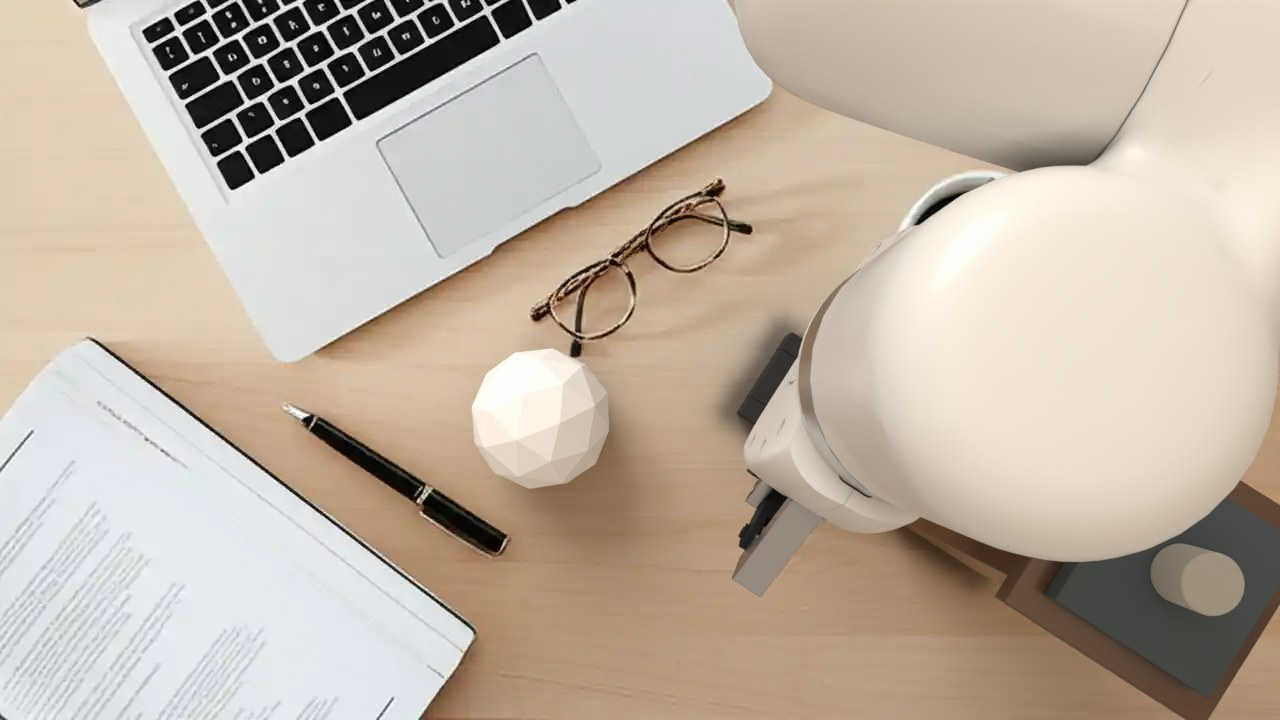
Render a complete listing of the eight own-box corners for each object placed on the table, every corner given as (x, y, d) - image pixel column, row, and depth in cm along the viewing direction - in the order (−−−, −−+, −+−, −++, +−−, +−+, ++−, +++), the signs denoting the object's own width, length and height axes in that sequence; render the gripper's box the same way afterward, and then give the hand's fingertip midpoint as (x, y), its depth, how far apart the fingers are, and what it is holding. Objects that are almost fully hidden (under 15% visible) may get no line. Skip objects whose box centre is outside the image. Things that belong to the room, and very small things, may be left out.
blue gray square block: (1135, 447, 40) (1181, 451, 36) (1285, 542, 39) (1347, 555, 36) (1043, 594, 40) (1080, 613, 36) (1192, 689, 39) (1245, 718, 36)
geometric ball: (559, 383, 71) (603, 314, 65) (599, 500, 68) (649, 440, 62) (442, 398, 67) (476, 327, 61) (478, 522, 64) (518, 461, 58)
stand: (937, 406, 68) (1125, 407, 40) (1053, 479, 67) (1325, 533, 39) (864, 520, 68) (1002, 602, 40) (980, 594, 67) (1202, 730, 39)
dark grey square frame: (785, 335, 68) (791, 331, 65) (864, 385, 68) (874, 384, 64) (736, 413, 68) (739, 413, 65) (814, 463, 68) (822, 466, 64)
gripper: (987, 52, 33) (876, 175, 50) (655, 564, 32) (659, 511, 49) (1213, 194, 32) (1024, 269, 49) (881, 713, 32) (806, 608, 49)
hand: (841, 390), depth 49 cm, fingers open, 9 cm apart
